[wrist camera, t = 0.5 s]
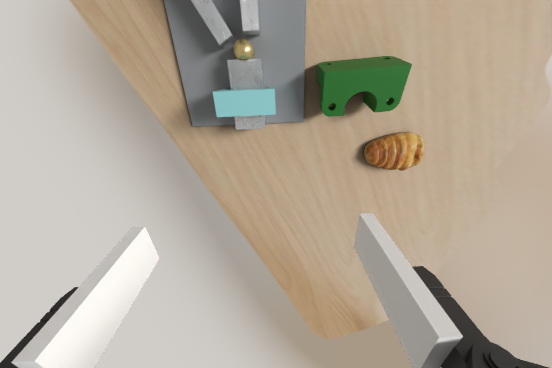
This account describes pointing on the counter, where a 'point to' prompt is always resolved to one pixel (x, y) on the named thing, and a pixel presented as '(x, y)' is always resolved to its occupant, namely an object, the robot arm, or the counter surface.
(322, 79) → the clamp
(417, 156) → the pastry
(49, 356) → the robot arm
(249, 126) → the tongs body
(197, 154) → the counter surface
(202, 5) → the arm
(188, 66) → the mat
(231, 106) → the collar
